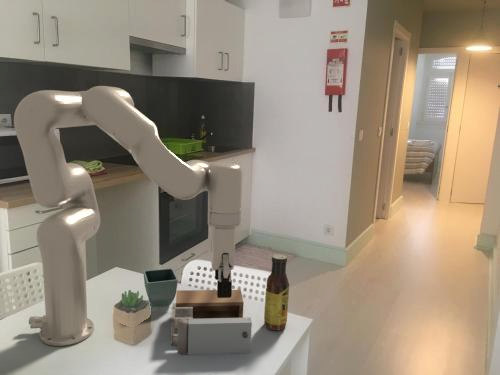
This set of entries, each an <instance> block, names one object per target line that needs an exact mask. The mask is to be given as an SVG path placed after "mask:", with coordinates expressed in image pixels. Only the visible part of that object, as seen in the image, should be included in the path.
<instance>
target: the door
mask: <svg viewBox="0 0 500 375" xmlns="http://www.w3.org/2000/svg"><path fill="white" fill-rule="evenodd" d="M252 326H253V324H252V319H251V317H243V318H206V319H189V321H188V320H187V319H181V320H179V321H178V345H177V354H178V355H180V356H185V355H188V356H189V355H192V356H193V355H215V354H216V355H217V354H218V355H219V354H220V355H221V354H246V353H247V354H249V353H251V345H252V344H251V343H252V342H251V341H252Z"/></svg>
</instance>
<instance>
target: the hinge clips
mask: <svg viewBox="0 0 500 375" xmlns="http://www.w3.org/2000/svg"><path fill="white" fill-rule="evenodd" d="M181 319H187V320H188V321H189V319H193V307H176V302H174V303H173V302H172V310H171V319H170V320H171V322H170V346H178V321H179V320H181Z"/></svg>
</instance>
